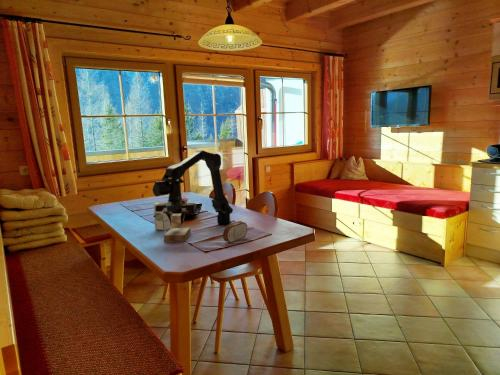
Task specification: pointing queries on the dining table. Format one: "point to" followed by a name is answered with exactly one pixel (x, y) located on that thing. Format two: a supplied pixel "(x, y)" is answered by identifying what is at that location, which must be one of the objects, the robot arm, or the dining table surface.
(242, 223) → the tin
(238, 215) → the dining table surface
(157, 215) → the syrup box
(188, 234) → the plinth
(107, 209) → the dining table surface
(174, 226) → the block
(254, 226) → the dining table surface
